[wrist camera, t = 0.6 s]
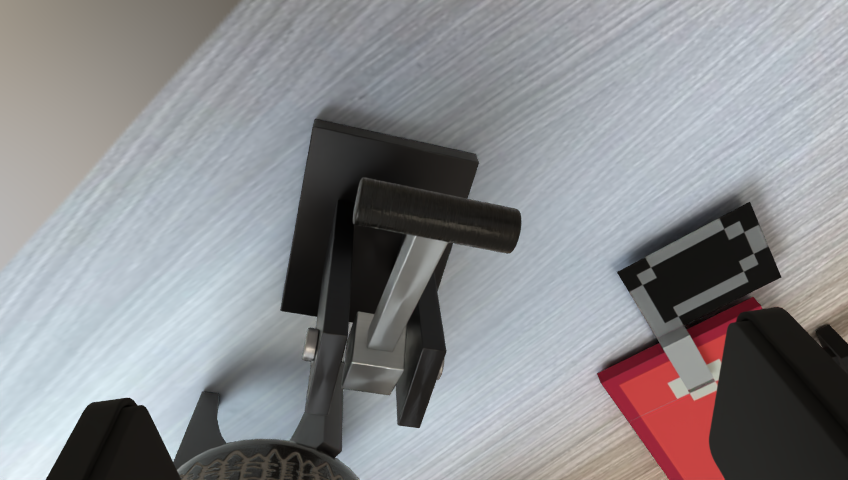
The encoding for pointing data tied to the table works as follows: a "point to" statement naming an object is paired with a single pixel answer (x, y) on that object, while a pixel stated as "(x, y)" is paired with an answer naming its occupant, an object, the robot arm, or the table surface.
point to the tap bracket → (365, 256)
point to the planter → (264, 448)
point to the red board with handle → (692, 337)
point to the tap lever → (413, 268)
